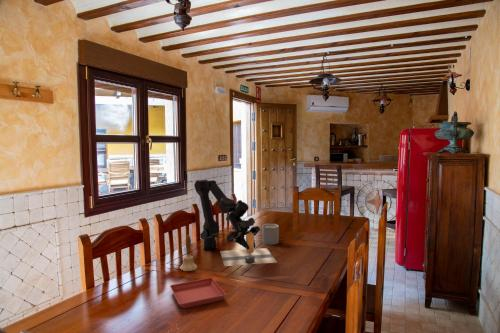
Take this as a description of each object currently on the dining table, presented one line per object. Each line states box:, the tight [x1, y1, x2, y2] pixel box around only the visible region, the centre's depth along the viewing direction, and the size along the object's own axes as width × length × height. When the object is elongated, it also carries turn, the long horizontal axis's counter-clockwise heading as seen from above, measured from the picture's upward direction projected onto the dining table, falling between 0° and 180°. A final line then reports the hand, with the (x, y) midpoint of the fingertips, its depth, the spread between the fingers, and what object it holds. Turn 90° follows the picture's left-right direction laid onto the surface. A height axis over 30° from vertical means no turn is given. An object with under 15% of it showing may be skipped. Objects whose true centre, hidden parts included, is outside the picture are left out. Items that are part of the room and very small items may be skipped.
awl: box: [245, 233, 255, 263], centre depth 172 cm, size 5×5×14 cm
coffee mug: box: [261, 223, 280, 246], centre depth 210 cm, size 13×10×10 cm
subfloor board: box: [219, 247, 278, 267], centre depth 181 cm, size 26×23×1 cm
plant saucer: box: [169, 277, 227, 309], centre depth 137 cm, size 18×18×3 cm
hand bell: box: [179, 234, 198, 272], centre depth 167 cm, size 8×8×16 cm
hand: (251, 248), depth 171 cm, fingers closed on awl, 4 cm apart
